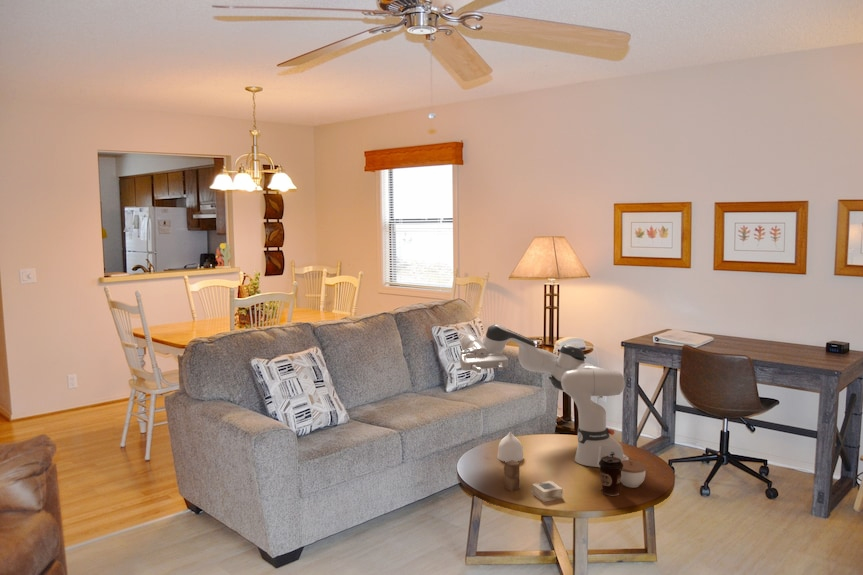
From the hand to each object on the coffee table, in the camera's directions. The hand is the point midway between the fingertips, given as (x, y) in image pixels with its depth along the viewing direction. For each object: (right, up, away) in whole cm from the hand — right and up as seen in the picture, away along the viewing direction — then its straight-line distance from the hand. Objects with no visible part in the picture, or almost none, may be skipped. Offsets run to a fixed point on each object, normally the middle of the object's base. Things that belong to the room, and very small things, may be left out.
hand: (490, 370), depth 280 cm
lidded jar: (+52, -41, -19) cm, 69 cm away
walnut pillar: (+6, -42, -21) cm, 48 cm away
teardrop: (+10, -39, +11) cm, 42 cm away
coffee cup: (+42, -42, -27) cm, 66 cm away
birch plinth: (+18, -43, -29) cm, 55 cm away
